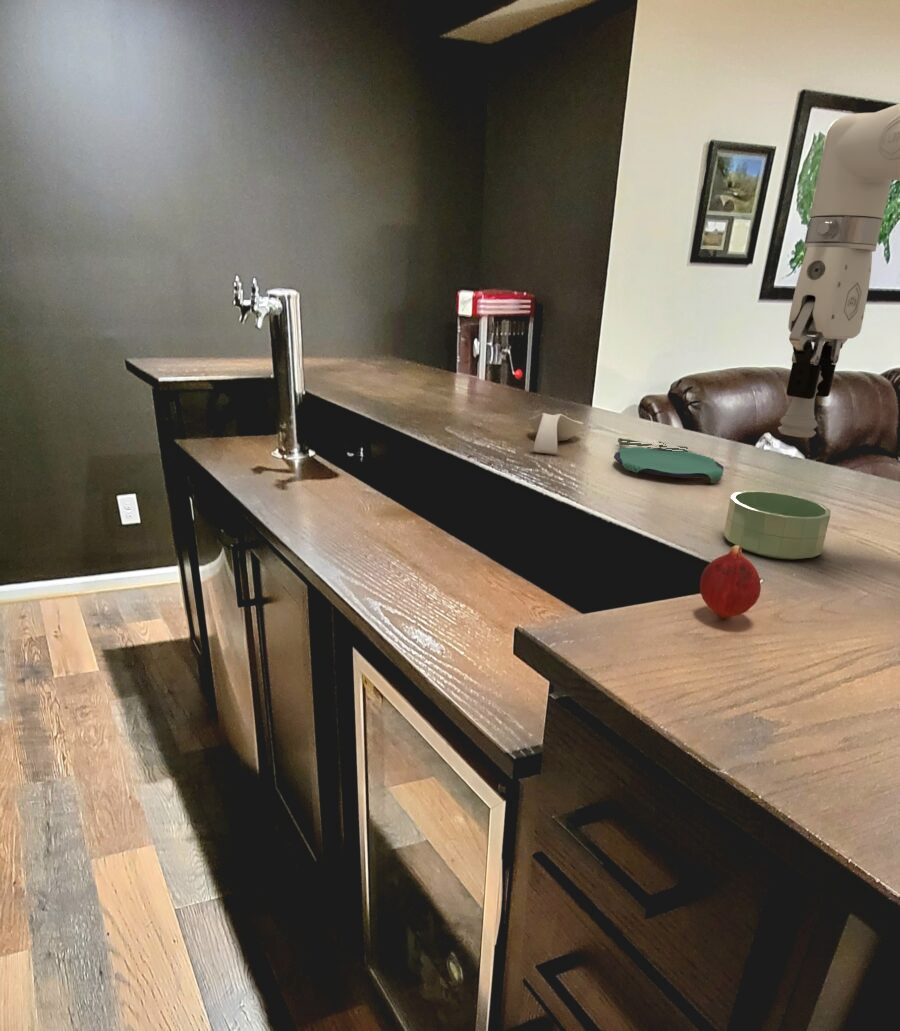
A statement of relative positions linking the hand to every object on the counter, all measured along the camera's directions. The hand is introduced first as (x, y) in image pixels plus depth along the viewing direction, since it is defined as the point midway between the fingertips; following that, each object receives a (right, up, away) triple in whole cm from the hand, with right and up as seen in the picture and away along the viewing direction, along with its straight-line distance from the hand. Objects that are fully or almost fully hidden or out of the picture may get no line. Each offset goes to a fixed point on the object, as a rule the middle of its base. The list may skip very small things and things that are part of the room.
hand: (807, 394), depth 89 cm
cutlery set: (-3, -5, +51) cm, 52 cm away
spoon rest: (-22, 0, +64) cm, 68 cm away
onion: (-16, -26, -14) cm, 33 cm away
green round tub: (0, -19, +9) cm, 21 cm away
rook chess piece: (-1, -5, +2) cm, 5 cm away
